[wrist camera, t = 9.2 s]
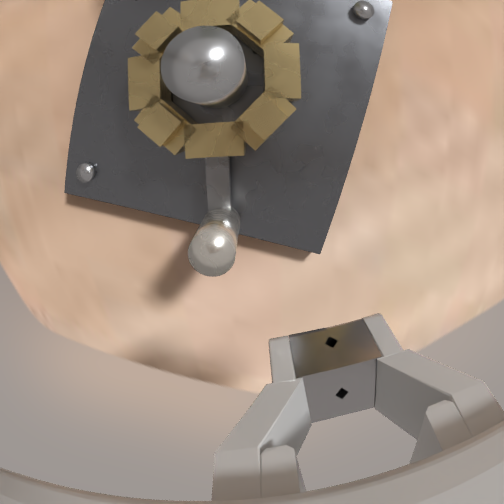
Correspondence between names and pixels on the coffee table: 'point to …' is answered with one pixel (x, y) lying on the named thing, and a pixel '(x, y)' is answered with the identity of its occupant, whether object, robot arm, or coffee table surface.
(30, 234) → the coffee table surface
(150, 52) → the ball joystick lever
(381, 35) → the flange plate
